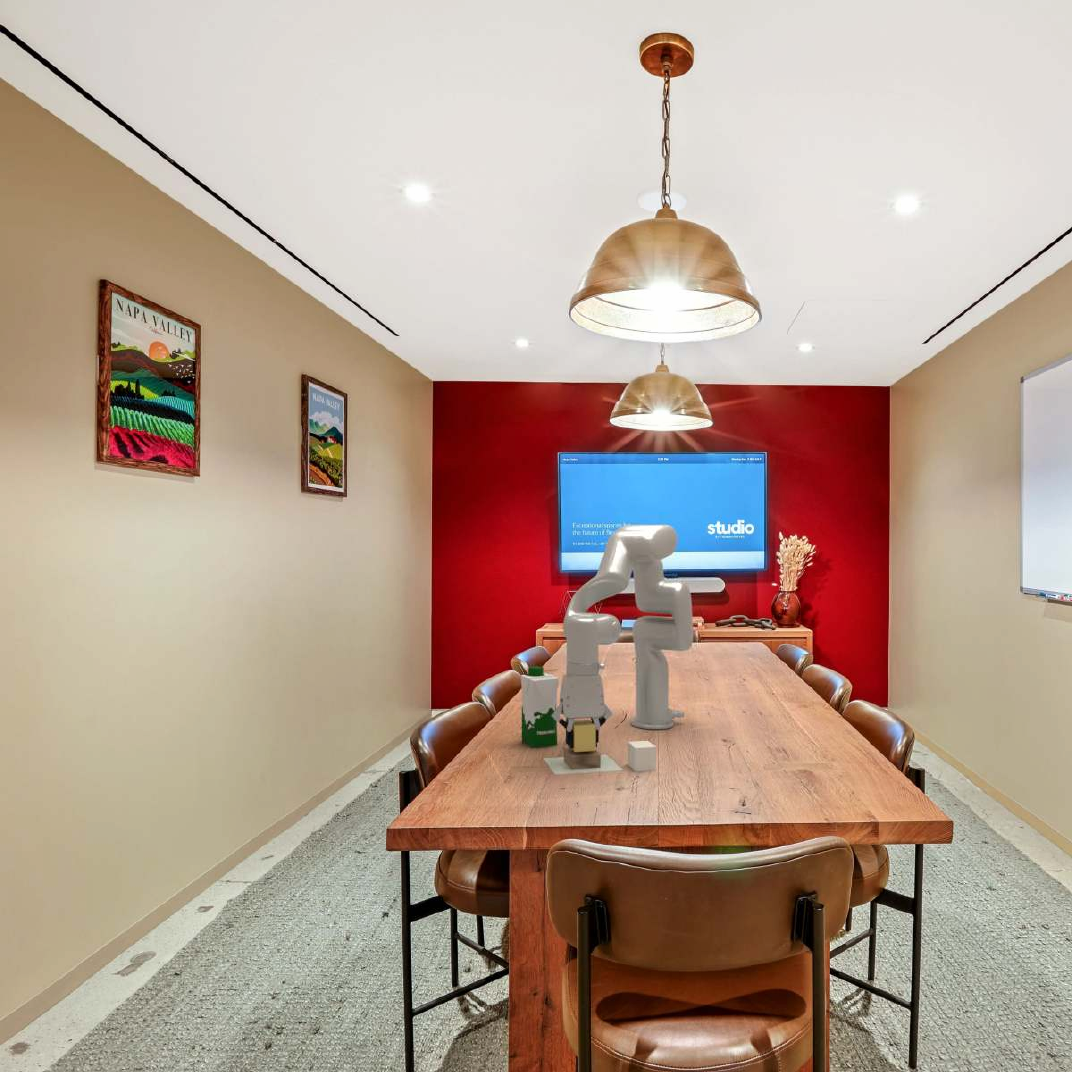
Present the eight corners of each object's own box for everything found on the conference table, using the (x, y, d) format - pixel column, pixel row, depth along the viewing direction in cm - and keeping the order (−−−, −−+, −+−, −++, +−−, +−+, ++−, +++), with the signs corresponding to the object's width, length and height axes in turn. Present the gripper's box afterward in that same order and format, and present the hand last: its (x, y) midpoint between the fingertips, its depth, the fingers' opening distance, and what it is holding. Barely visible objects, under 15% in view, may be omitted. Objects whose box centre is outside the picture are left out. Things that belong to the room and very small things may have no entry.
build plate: (606, 756, 170) (606, 754, 170) (622, 772, 158) (622, 769, 158) (543, 760, 167) (543, 758, 167) (555, 777, 155) (555, 774, 155)
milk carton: (546, 738, 186) (546, 664, 186) (562, 747, 178) (563, 670, 178) (516, 743, 182) (517, 667, 182) (532, 752, 174) (532, 672, 174)
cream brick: (647, 766, 163) (647, 740, 164) (655, 772, 159) (655, 746, 159) (627, 767, 162) (627, 741, 162) (635, 774, 157) (635, 748, 158)
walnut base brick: (591, 758, 167) (591, 746, 167) (600, 767, 160) (600, 754, 160) (563, 760, 165) (563, 747, 165) (571, 769, 158) (571, 756, 158)
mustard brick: (589, 744, 166) (589, 719, 166) (595, 750, 161) (595, 725, 161) (569, 745, 164) (569, 720, 165) (574, 752, 160) (574, 726, 160)
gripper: (611, 665, 168) (611, 739, 168) (543, 667, 165) (543, 743, 164) (621, 670, 161) (621, 748, 161) (551, 673, 157) (550, 753, 157)
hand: (582, 745), depth 163 cm, fingers closed on mustard brick, 5 cm apart
